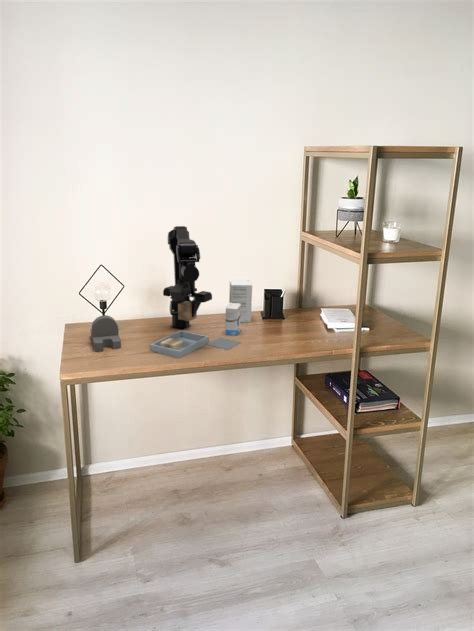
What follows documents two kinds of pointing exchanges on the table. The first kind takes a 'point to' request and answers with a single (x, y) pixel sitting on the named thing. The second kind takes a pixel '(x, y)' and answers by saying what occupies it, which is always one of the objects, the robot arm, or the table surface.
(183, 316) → the walnut box
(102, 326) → the bracket
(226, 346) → the mat
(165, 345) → the birch box
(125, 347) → the table surface
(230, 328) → the ink box
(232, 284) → the supplement box
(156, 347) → the parts bin
